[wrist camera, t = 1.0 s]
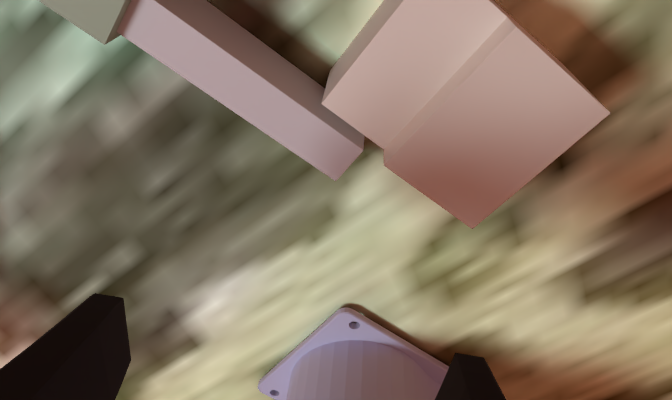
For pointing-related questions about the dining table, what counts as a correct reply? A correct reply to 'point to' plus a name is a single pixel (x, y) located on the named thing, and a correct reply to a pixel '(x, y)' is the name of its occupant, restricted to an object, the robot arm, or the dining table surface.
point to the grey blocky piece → (227, 71)
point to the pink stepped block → (459, 100)
